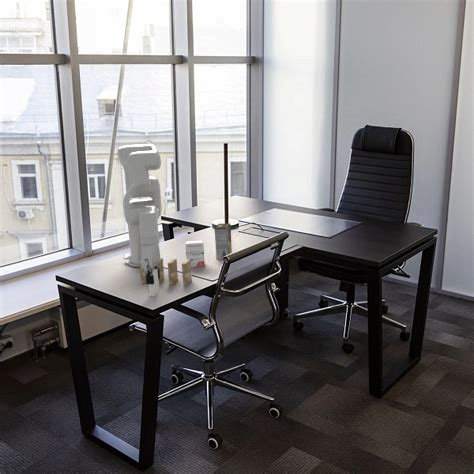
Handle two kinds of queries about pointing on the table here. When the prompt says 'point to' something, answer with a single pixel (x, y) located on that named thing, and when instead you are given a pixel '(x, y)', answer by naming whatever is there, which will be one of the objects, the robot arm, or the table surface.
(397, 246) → the table surface
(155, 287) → the cream domino
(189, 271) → the domino
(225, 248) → the coffee box
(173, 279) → the domino
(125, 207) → the robot arm
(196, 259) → the ink box
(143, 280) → the domino
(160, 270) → the domino
